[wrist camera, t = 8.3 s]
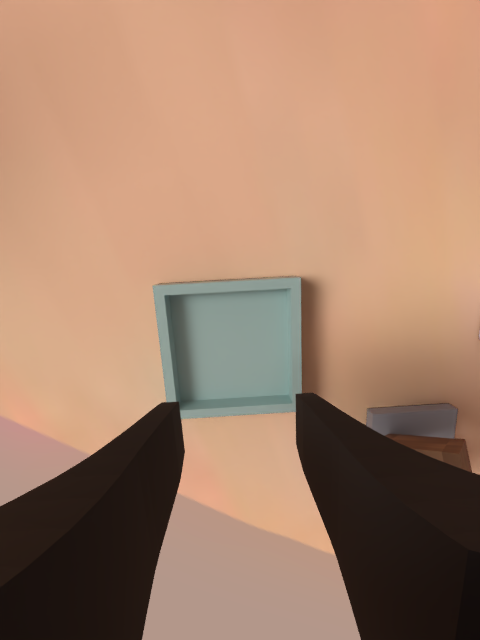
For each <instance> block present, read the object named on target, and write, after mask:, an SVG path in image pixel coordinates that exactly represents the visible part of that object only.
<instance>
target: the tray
mask: <svg viewBox="0 0 480 640" xmlns="http://www.w3.org/2000/svg"><path fill="white" fill-rule="evenodd" d="M153 293H154V301H155V310H156V318H157V326H158V334H159V343H160V351H161V359H162V368H163V376H164V384H165V392H166V401H167V402H179V406H180V415H181V419H189V418H205V417H220V416H236V415H252V414H268V413H284V412H296V394H300V393H302V359H301V277H297V276H282V277H264V278H247V279H229V280H211V281H193V282H175V283H160V284H157V285H153Z"/></svg>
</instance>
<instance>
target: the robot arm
mask: <svg viewBox="0 0 480 640" xmlns="http://www.w3.org/2000/svg"><path fill="white" fill-rule="evenodd" d="M479 339H480V332H479ZM296 445H297V449H298V453H299V457H300V461H301V464H302V468H303V472H304V474H305V477H306V479H307V482H308V485H309V487H310V490H311V492H312V495H313V497H314V500H315V502H316V505H317V507H318V510H319V512H320V515H321V517H322V520H323V522H324V525H325V528H326V530H327V533H328V535H329V538H330V540H331V543H332V546H333V549H334V551H335V554H336V557H337V560H338V563H339V567H340V570H341V573H342V576H343V580H344V583H345V586H346V590H347V593H348V596H349V600H350V603H351V606H352V610H353V613H354V617H355V620H356V623H357V627H358V631H359V634H360V637H361V640H480V475H478V474H475V473H472V472H469V471H466V470H463V469H461V468H458V467H456V466H453V465H450V464H448V463H445V462H442V461H440V460H437V459H434V458H432V457H430V456H427V455H425V454H422V453H420V452H418V451H416V450H413V449H411V448H409V447H407V446H405V445H403V444H400V443H398V442H396V441H394V440H392V439H390V438H388V437H386V436H384V435H382V434H380V433H378V432H377V431H375V430H373V429H371V428H369V427H368V426H366V425H364V424H362V423H361V422H359V421H357V420H355V419H354V418H352V417H350V416H349V415H347V414H346V413H344V412H342V411H341V410H339V409H338V408H336V407H335V406H333V405H332V404H330V403H329V402H327V401H326V400H324V399H322V398H321V397H319V396H318V395H316V394H314V393H300V394H296ZM184 453H185V450H184V441H183V433H182V424H181V415H180V406H179V402H164V403H161V404H159V405H158V406H156V407H155V408H154V409H152V410H151V411H150V412H149V413H147V414H146V415H145V416H144V417H142V418H141V419H140V420H139V421H137V422H136V423H135V424H134V425H132V426H131V427H130V428H128V429H127V430H126V431H125V432H123V433H122V434H121V435H119V436H118V437H116V438H115V439H114V440H112V441H111V442H110V443H108V444H107V445H105V446H104V447H103V448H101V449H100V450H98V451H97V452H96V453H94V454H93V455H91V456H90V457H88V458H87V459H85V460H83V461H82V462H80V463H79V464H77V465H76V466H74V467H72V468H70V469H69V470H67V471H66V472H64V473H62V474H61V475H59V476H57V477H55V478H54V479H52V480H50V481H48V482H46V483H44V484H42V485H40V486H39V487H37V488H35V489H33V490H31V491H29V492H27V493H25V494H24V495H22V496H20V497H18V498H16V499H14V500H12V501H10V502H8V503H6V504H4V505H2V506H0V640H142V636H143V630H144V625H145V620H146V614H147V609H148V604H149V599H150V594H151V589H152V584H153V579H154V574H155V570H156V566H157V561H158V557H159V553H160V550H161V546H162V543H163V539H164V536H165V532H166V529H167V525H168V522H169V518H170V515H171V511H172V508H173V504H174V501H175V497H176V494H177V490H178V487H179V483H180V479H181V473H182V467H183V460H184Z"/></svg>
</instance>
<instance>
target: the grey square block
mask: <svg viewBox="0 0 480 640" xmlns="http://www.w3.org/2000/svg"><path fill="white" fill-rule="evenodd" d="M457 412H458V409H457V408H455V407H454V406H452V405H451V404H449V403H446V404H430V405H414V406H398V407H383V408H367V422H366V426H368V427H369V428H371V429H373V430H375V431H377V432H378V433H380V434H382V435H384V436H385V435H387V434H402V435H415V436H427V437H440V438H453V439H454V436H455V428H456V420H457Z"/></svg>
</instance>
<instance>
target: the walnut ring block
mask: <svg viewBox="0 0 480 640" xmlns="http://www.w3.org/2000/svg"><path fill="white" fill-rule="evenodd" d="M385 436H386V437H388V438H390V439H392V440H394V441H396V442H398V443H400V444H403V445H405V446H407V447H409V448H411V449H413V450H416V451H418V452H420V453H422V454H425V455H427V456H430V457H432V458H434V459H437V460H440V461H442V462H445V463H448V464H450V465H453V466H456V467H458V468H461V469H463V470H466V471H469V472H472V470H471V466H470V461H469V456H468V451H467V446H466V442H465V439H453V438H440V437H427V436H415V435H402V434H387V435H385Z"/></svg>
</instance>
